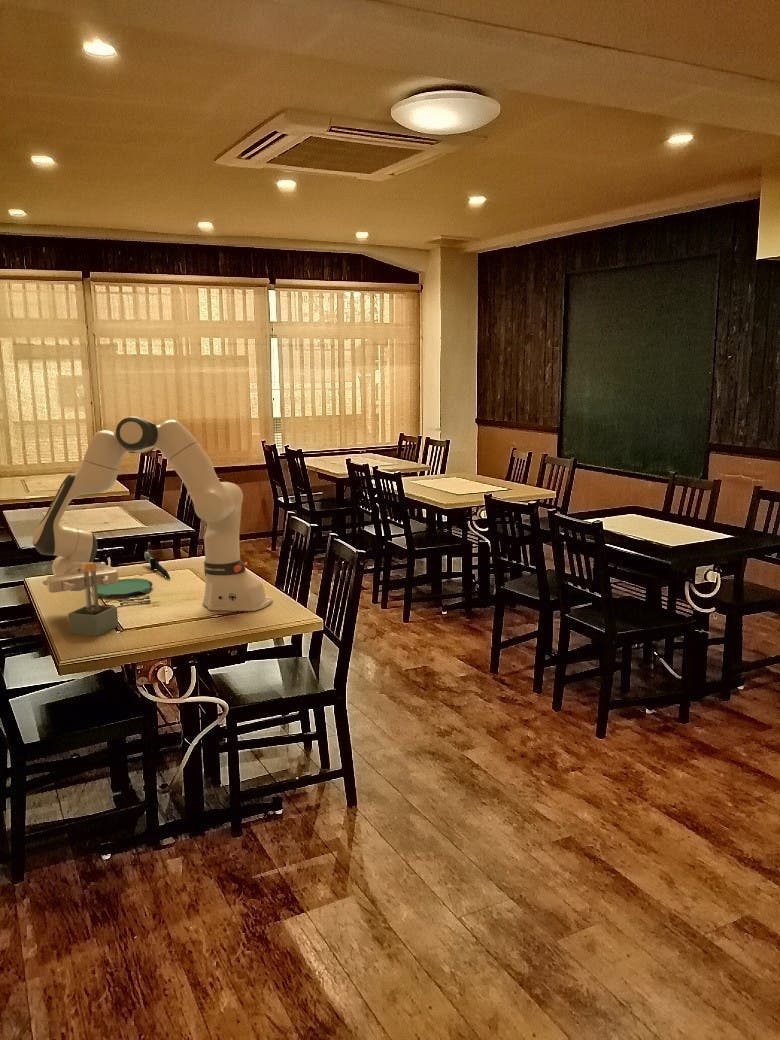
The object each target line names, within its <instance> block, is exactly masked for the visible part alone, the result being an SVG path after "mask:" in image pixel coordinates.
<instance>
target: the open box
mask: <svg viewBox="0 0 780 1040" xmlns="http://www.w3.org/2000/svg"><path fill="white" fill-rule="evenodd" d="M98 605H99V608H100V612H99V614H97V615H94V613H92V615H89V614H87V612H86V611H85V608H87V606H86V605H84V606H83V607H80V608H78V609H76V610H73V611H71V612H69V613H68V614H67V615H68V617H67V618H68V626H69V633H70V634H72V633H73V634H72V635H74V634H75V635H84V636H92V637H99V636H101V635H103V634H105V633H107V632H109V631H111V630H114V629H115V628H117V627H119V617H118V607H115V606H112V605H105V604H103V605H101V604H98ZM91 606H92V607H94V605H93V604H92V603H91Z"/></svg>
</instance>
